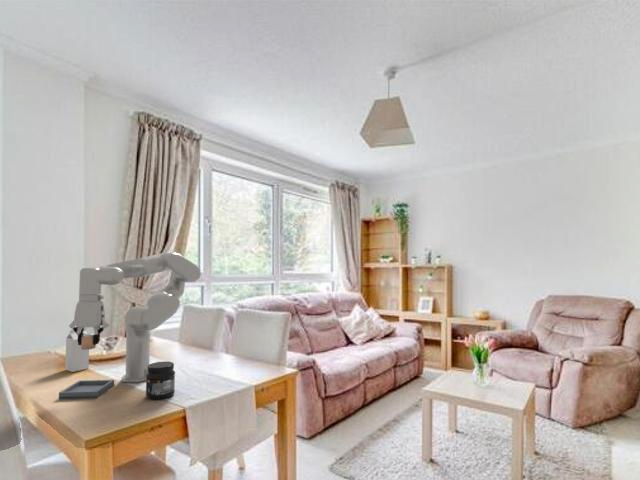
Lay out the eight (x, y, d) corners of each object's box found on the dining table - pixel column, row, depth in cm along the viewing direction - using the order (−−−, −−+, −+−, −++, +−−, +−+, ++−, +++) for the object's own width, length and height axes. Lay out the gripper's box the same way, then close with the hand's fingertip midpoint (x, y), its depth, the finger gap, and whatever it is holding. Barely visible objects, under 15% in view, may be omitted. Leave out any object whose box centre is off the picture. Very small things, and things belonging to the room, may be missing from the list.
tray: (114, 385, 160) (114, 379, 160) (97, 398, 146) (97, 391, 146) (79, 386, 159) (79, 380, 159) (58, 399, 145) (58, 392, 145)
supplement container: (153, 390, 154) (153, 360, 155) (179, 391, 154) (179, 361, 154) (140, 400, 144) (140, 368, 144) (167, 401, 143) (168, 368, 144)
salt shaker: (98, 346, 156) (98, 332, 156) (91, 349, 151) (92, 335, 151) (85, 346, 155) (85, 333, 155) (78, 349, 150) (78, 335, 150)
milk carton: (88, 368, 184) (89, 328, 184) (72, 372, 178) (73, 331, 178) (81, 366, 187) (82, 327, 188) (65, 370, 181) (66, 329, 182)
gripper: (116, 297, 158) (115, 341, 157) (73, 297, 157) (71, 342, 156) (107, 299, 151) (106, 346, 150) (62, 299, 149) (60, 346, 149)
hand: (88, 343), depth 153 cm, fingers closed on salt shaker, 5 cm apart
